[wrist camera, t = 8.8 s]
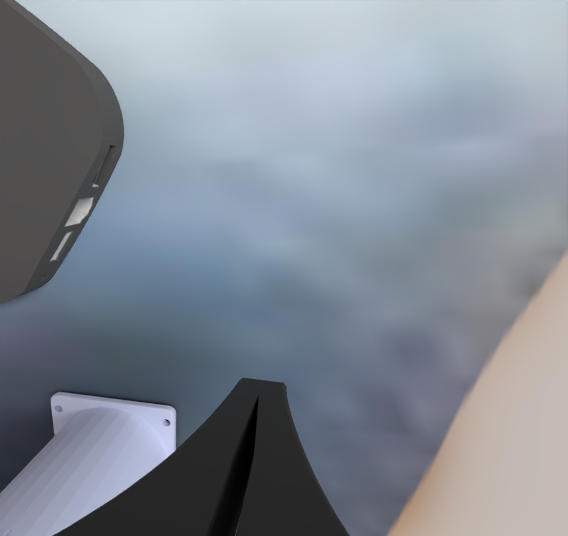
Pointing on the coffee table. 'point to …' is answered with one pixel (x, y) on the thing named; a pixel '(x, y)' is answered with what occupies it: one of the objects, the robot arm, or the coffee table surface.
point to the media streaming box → (48, 147)
